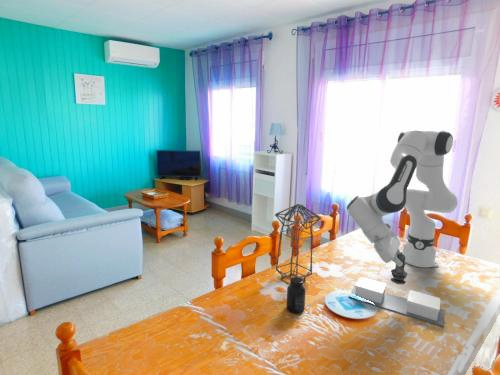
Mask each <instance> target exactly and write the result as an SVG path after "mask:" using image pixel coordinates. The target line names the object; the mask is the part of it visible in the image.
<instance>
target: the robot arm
mask: <svg viewBox="0 0 500 375" xmlns="http://www.w3.org/2000/svg"><path fill="white" fill-rule="evenodd" d="M453 145H454V137H453V135H452V133H450V132H448V131H445V130H438V129H437V130H436V129H430V128H429V129H428V128H425V129H424V128H423V129H416V128H408V129H404V130H403V131H401V132H400V133H399V135H398V138H397V143H396V145H395V148H394V150H393V151H392V154H391V157H390V160H389V161H390V164H391V166H392V167H393V168H394V169H395V170H394V173H393V175H392V176H391V178H390V181H389V183H388V184H387V185H385V186H384V187H382V188H381V189H380V190H378V191H377V192H375V193H372V194H368V195H357V196H355V197H353V199H352V200H351V201H350V202H349V203H348V204H347V205H346V211H347V213H348V215H349V216H350V218H351V219H352V221H353V222H354V223H355V224H356V226H357V227H359V228H360V229H361V232H362V233H363V234H364V236H365V238H367V240H368V241H369V242H370V244H373V248H374V250H375V251H376V253H377V254H378V256H379V257H380V258H381V260H382V261H383V262H384V263H385V264H387V263H390V262H393V263H394V264H395V265H396V264H397V265H398V266H399V267H400V266H402V265H403V262H402V261H401V260H399V259H398V258H397V255H398V254H401V252H402V254H403V255H405V264H408V265H411V266H414V267H417V268H432V267H433V268H437V267H439V262H438V260H437V259H436V257H437V256H436V254H437V250H436V248H435V247H434V245H435V233H436V223H435V221H434V219H433V218H431V217H429V215H427V214H426V212H425V211H428V212H434V213H440V214H441V213H442V214H444V213H445V214H446V213H447V214H450V213H452V212H454V211H455V210H456V208H457V206H458V198H457V196H456V195H455V193H454V192H452V191H451V190H450V189H449V188H448V187H447V185H446V183H445V181H444V162H445V160H444V159H445V155H447V154H449V153H450V151H451V150H452V148H453ZM415 172H416V173H415ZM414 173H415V176H416V179H417V180H418V182H420V183H422V184H423V185H425V187H422V186H421V187H420V186H409V185H410V183H411V180H412V178H413V175H414ZM404 208H405V209H406V211H407V212H408V215H409V218H410V223H409V224H410V225H409V232H408V234H407V241H406V242H405V243H403V244H402V245H403V246H402V250H400V245H401V241H400V239H399V237H398V236H397V235H396V233H395V232H394V231H393V230H392V229H391V228H392V227H391V225H390V224H389V222H388V223H386V222H384V220H383V218H384V217H385V216H389V215H390V214H394V213H398V212H401V211H402V210H403V209H404Z"/></svg>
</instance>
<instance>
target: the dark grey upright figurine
mask: <svg viewBox="0 0 500 375" xmlns="http://www.w3.org/2000/svg"><path fill="white" fill-rule="evenodd" d="M400 252H401V254H398V255H397V258H398V259H399V260H401V261H402V262H403V265H402V266H400V267H399V266H398V265H397V264H396V263H395V267H394V269H393V268H392V269H391V270H390V273H391V276H392V277H391V278H390V281H391V282H393V283H394V284H397V285H405V284H406V283H407V281H406V280H405V279H406V278H407V276H408V275H409V274H408V272H407V271H405V267H406V264H407V263H406V262H405V255H403V254H402V251H400Z"/></svg>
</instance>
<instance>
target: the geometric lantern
mask: <svg viewBox="0 0 500 375" xmlns="http://www.w3.org/2000/svg"><path fill="white" fill-rule="evenodd" d="M295 214H296V218H295V221H294V220H291V219H292V218H293V217H294V215H295ZM299 214H300V217H301V218H303V220H300V222H298V221H299ZM311 214H312V215H311ZM287 216H288V218H287ZM305 216H306V218H305ZM274 217H276V219H277V220H278V221H279V222H280V223H281V225H282V226H281V229H280V232H279V240H278V249H277V257H276V258H277V259H276V265H275V271H277V272H278V274H279V275H280V276H281V277H280V280H281V281H282V282H284V283H285V284H287V285H290V282H287V281H286V280H284V279H287V280H290V279H291V278H292V276H294V277H299V278H302V279H303V283H305V282H306V278H307V277H310V276H311V275H312V274H313V241H314V234H313V226H314V225H315V224H317V223H318V222H319V221H321V220H322V219H323V218H322V217H321V216H320V215H319V214H316V213H315V212H314V211H312V210H311V209H309V208H308V207H306V206H304V204H300V203H296V204H295V205H292V206H291V207H288V208H286V209H283V210H281V211H278V212H276V213H275V214H274ZM315 218H316V219H315ZM308 220H309V221H308ZM288 222H289V224H288ZM285 223H286V224H285ZM296 224H299V225H301V226H300V227H299V228H296V227H295V225H296ZM308 225H309V226H308ZM291 226H292V227H293V228H291ZM284 227H287V228H288V229H286V230H284ZM302 227H303V229H302ZM308 229H309V230H310V231H309V232H308V231H305V230H308ZM292 231H294V232H292ZM296 231H298V232H297V236H296ZM285 232H290V234H291V236H289V235H288V234H285ZM302 232H304V233H306V234H309V236H306V237H300V235H301V234H302ZM283 235H284V236H286V237H288V238H290V239H292V246H291V247H292V248H291V255H290V256H291V257H290V262H289V263H286V264H282V265H280V266H279V258H280V251H281V244H282V238H283ZM308 238H310V264H309V265H310V267H309V268H307V267H305V266H303V265H301V264H300V263H299V245H300V244H299V243H300V240H304V239H308ZM296 240H297V241H296ZM295 241H296V260H295V262H293V260H294V259H293V258H294V247H295ZM288 265H290V268H289V270H287V272H282V271H281V270H279V269H278V268H282V267H286V266H288ZM293 265H295V266H294V268H293ZM299 267H301V268H303V269H305V270H307V271H308V272H307V273H306V274H302V273H300V272H298V269H299ZM292 268H293V269H292ZM288 273H289V274H288ZM298 275H301V276H298Z"/></svg>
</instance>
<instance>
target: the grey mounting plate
mask: <svg viewBox="0 0 500 375" xmlns="http://www.w3.org/2000/svg"><path fill="white" fill-rule="evenodd" d="M352 288H353V289H352V290H351V292H350V293H352V294H355V295H356V296H359V297H361V298H364V299H366V300H369V301H371V302H373V303H374V304H375V305H376V306H375V307H378V308H381V309H384V310H388V311H389V312H393V313H396V314H400V315H402V316H406V317H410V318H413V319H416V320H419V321H422V322H426V323H430V324H432V325H435V326H438V327H442V328H444V318H445V316H444V315H445V309H443V308H441V307H440V306H441V298H440V297H437V296H433V295H429V294H425V293H423V292H418V291H414V290H412V289H411V290H409V293H408V296H407V298H406V297H402V296H400V295H399V296H398V295H395V294H391V293H388V292H386V288H387V282H381V281H377V280H375V279H370V278H366V277H363V276H360V277H359V278H358V280H357V282H356V283H355V286H354V287H352Z"/></svg>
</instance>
